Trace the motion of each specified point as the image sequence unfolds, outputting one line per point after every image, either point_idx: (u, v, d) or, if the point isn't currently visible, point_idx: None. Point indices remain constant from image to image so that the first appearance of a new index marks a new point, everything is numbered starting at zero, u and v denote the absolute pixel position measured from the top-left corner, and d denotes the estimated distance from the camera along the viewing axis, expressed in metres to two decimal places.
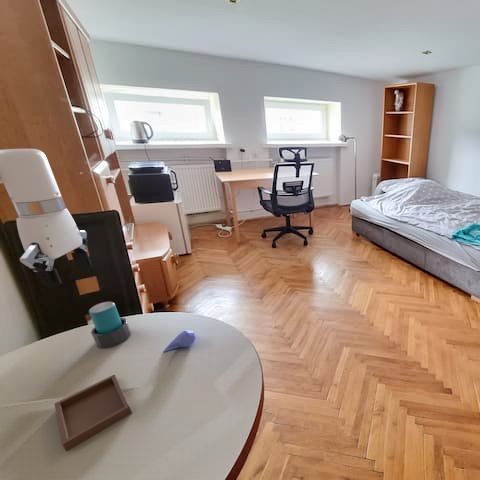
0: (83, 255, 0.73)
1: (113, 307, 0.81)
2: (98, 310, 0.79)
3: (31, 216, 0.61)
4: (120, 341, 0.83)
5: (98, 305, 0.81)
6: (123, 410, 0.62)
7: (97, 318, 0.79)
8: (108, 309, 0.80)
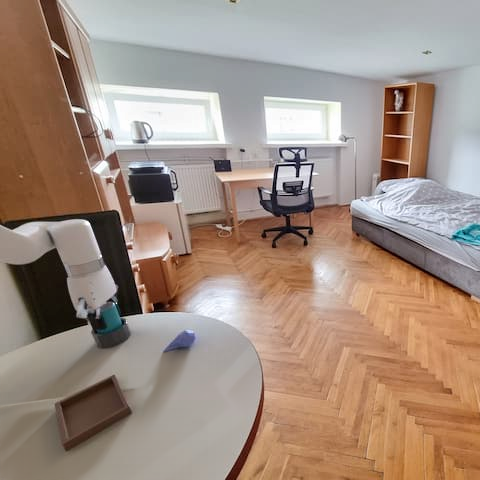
0: None
1: (113, 307, 0.81)
2: None
3: (79, 276, 0.73)
4: (120, 341, 0.83)
5: None
6: (123, 410, 0.62)
7: None
8: (108, 309, 0.80)
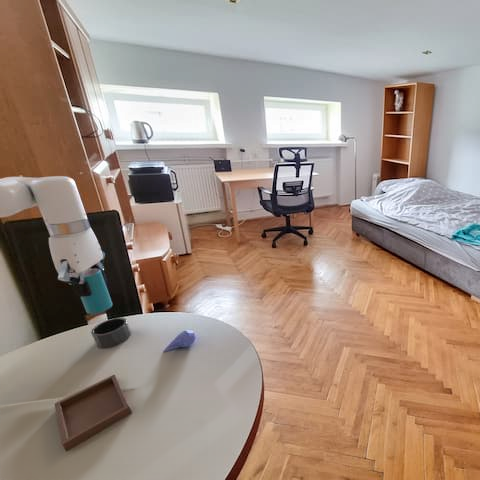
0: None
1: (99, 273, 0.77)
2: None
3: (61, 236, 0.69)
4: (120, 341, 0.83)
5: None
6: (123, 410, 0.62)
7: None
8: (93, 275, 0.75)
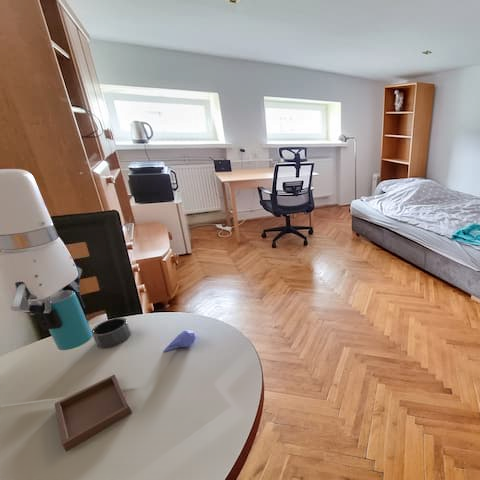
0: None
1: (72, 297, 0.58)
2: None
3: (16, 250, 0.50)
4: (120, 341, 0.83)
5: (51, 295, 0.58)
6: (123, 410, 0.62)
7: None
8: (64, 300, 0.57)
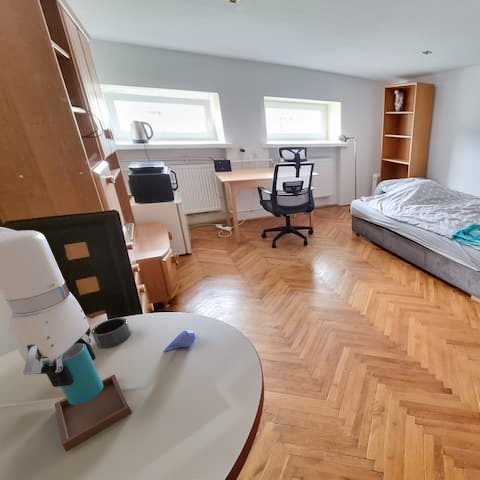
0: None
1: (83, 352, 0.58)
2: None
3: (28, 314, 0.50)
4: (120, 341, 0.83)
5: None
6: (123, 410, 0.62)
7: None
8: (75, 356, 0.57)
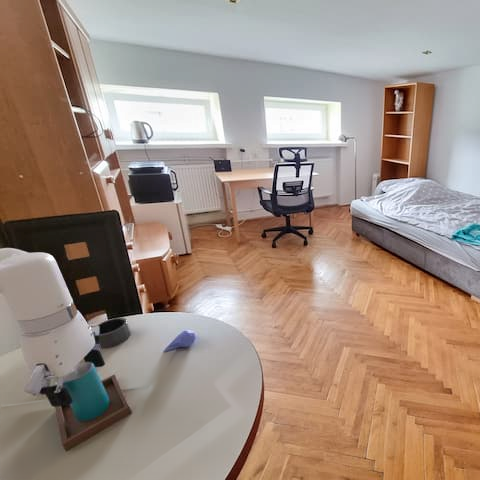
0: (96, 356, 0.63)
1: (92, 371, 0.60)
2: (70, 378, 0.57)
3: (38, 334, 0.51)
4: (120, 341, 0.83)
5: None
6: (123, 410, 0.62)
7: (68, 389, 0.57)
8: (84, 375, 0.58)
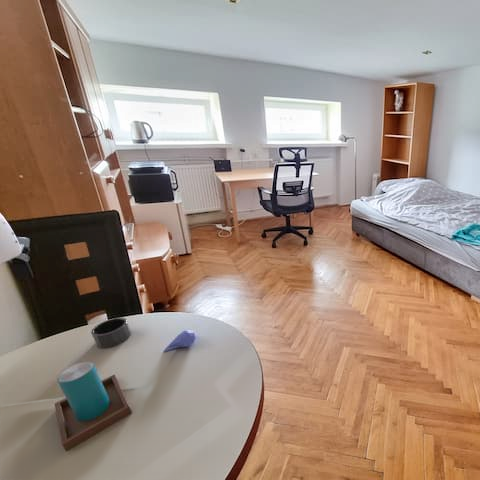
0: (23, 266, 0.63)
1: (92, 371, 0.60)
2: (70, 378, 0.57)
3: None
4: (120, 341, 0.83)
5: (71, 368, 0.60)
6: (123, 410, 0.62)
7: (68, 389, 0.57)
8: (84, 375, 0.58)
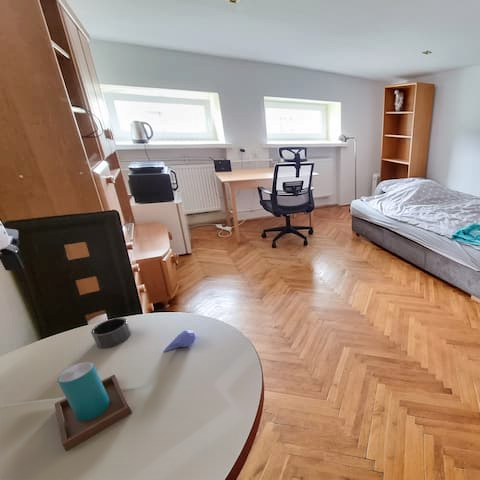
0: (12, 257, 0.64)
1: (92, 371, 0.60)
2: (70, 378, 0.57)
3: None
4: (120, 341, 0.83)
5: (71, 368, 0.60)
6: (123, 410, 0.62)
7: (68, 389, 0.57)
8: (84, 375, 0.58)
